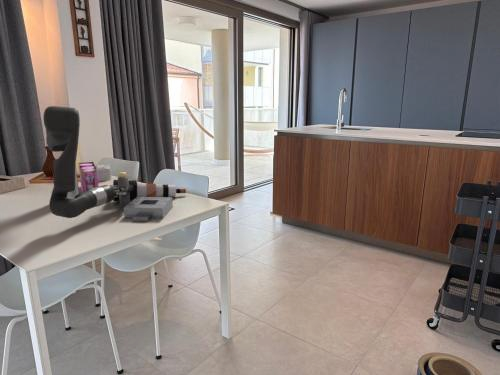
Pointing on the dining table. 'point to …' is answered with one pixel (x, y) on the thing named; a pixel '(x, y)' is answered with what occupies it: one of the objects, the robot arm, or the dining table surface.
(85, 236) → the dining table surface
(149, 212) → the housing
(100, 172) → the lumpy-topped squat cylinder
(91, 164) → the gum box
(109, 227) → the dining table surface
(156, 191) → the banded tapered cylinder
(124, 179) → the grey bottle
